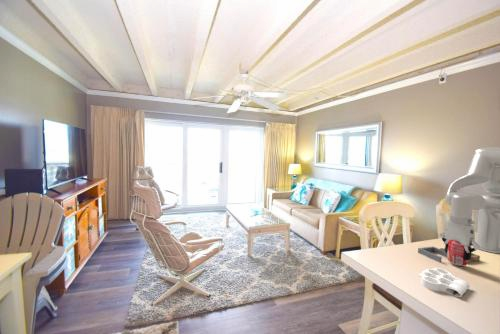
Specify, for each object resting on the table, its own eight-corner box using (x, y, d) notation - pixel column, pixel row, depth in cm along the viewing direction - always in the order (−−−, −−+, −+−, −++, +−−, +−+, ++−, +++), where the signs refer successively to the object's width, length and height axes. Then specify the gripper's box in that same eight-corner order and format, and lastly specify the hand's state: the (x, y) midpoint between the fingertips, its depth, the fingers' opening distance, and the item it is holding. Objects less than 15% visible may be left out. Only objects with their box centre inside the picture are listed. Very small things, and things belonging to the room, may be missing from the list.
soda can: (458, 260, 109) (460, 237, 108) (470, 267, 102) (473, 242, 101) (443, 259, 110) (445, 236, 109) (454, 266, 103) (456, 241, 102)
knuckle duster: (457, 303, 78) (410, 282, 91) (471, 287, 88) (427, 270, 100) (458, 294, 78) (411, 274, 90) (472, 279, 88) (428, 263, 100)
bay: (432, 250, 121) (432, 246, 121) (455, 260, 111) (455, 255, 111) (417, 252, 118) (418, 248, 118) (439, 262, 108) (440, 257, 108)
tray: (453, 251, 122) (454, 246, 121) (479, 260, 111) (479, 256, 111) (439, 252, 119) (439, 248, 118) (464, 263, 108) (464, 258, 108)
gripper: (489, 225, 97) (485, 264, 98) (445, 214, 114) (443, 247, 115) (477, 226, 95) (474, 265, 96) (435, 215, 112) (432, 248, 113)
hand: (457, 255), depth 105 cm, fingers closed on soda can, 7 cm apart
